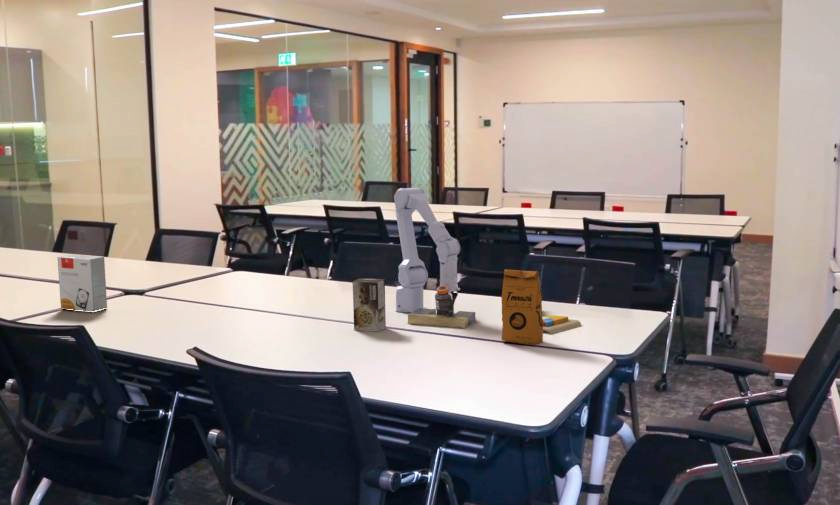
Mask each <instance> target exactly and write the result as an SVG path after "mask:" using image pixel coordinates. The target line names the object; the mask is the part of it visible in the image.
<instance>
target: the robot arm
mask: <svg viewBox="0 0 840 505" xmlns="http://www.w3.org/2000/svg"><path fill="white" fill-rule="evenodd" d="M393 199H394V205H395V216H396V221H397V222H396V223H397V229H398V233H399V235H398V236H399V241H400V248H401V253H402V261H401V263H400V264H399V265H398V275H397V276H398V277H397V278H398V282H399V284H400V285H398V286H397V288H396V292H395V312H398V313H399V312H401V313H412V312H414V311H416V310H418V309H420V308H423V309H428V307H424V286H426V283H427V282H428V279H429V273H428V270H427V269H426V266H425V262H424V261H423V260H421V259H420V258H419V254H418V248H417V241H416V236H415V235H416V234H415V229H414V228H415V227H414V222H413V216H412V215H413V214H414V212H415V211H417V212H418V213H419V215H420V217H421V218H422V219H423V221H424V222H425V223H426V225H427V226H428V229H427V231H428V232H427V233H428V234H429V236H430V237H431V238H432V240H433V243H435V245H436V248H435V251H436V254H437V257H438V261H439V278H440V279H439V282H440V283H439V286H448V287H449V292H451V293H452V297H453V305H454V306H455V303H456V299H457V298H458V294H459V293H458V292H457V291H460V290H461V288H460V287H459V285H458V277H457V275H458V268H457V267H458V263H457V262H458V260H457V259H458V255H459V254H460V252H461V244H460V242H459V240H458V239H456V238H454V237H453V236H451V235H450V233H449V231H448V230H447V229H446V227H445V226H446V225H445V224H444V223H443V222H442V221H438V220H437V218H436V216H435V214H434V212H433V210H432V208H431V207H430V204H429V203H428V194H427V193H425V189H423V188H422V187H419V186H417V187H407V188H405V187H404V188H403V187H400V188H398V189H397V190H396V192H395V193H394V195H393Z"/></svg>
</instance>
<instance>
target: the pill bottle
mask: <svg viewBox="0 0 840 505" xmlns="http://www.w3.org/2000/svg"><path fill="white" fill-rule="evenodd" d="M434 302H435V307H436V308H435V309H436V315H444V316H452V315H453V314H455V304H454V305H453V297H452V293H451V292H449V287H448V286H440V285H439V286H437V288H436V293H435V295H434Z"/></svg>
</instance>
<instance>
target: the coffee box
mask: <svg viewBox="0 0 840 505" xmlns="http://www.w3.org/2000/svg"><path fill="white" fill-rule="evenodd" d="M385 280H386V279H385V278H384V279H383V278H358V279H355V280H353V281H351V282H352V299H353V300H352V301H353V303H352V304H353V306H352V307H353V310H352V311H353V330H354V329H356V330H355V331H365V330H367V331H368V332H380V331H383V330H384V329H385V328H386V326H387V324H386V323H387V322H386V320H387V319H386V284H385Z"/></svg>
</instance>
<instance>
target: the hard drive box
mask: <svg viewBox="0 0 840 505" xmlns="http://www.w3.org/2000/svg"><path fill="white" fill-rule="evenodd" d="M57 267H58V284H59V286H58V287H59V300H60V309H61V308H66V309H73V310H83V311H95V310H99V309H103V308H107V309H108V301H107V300H108V298H107V283H106V281H107V280H106V266H105V257H104V256H101V255H100V256H97V255H87V254H85V255H83V254H68V255H67V254H66V255H61V256H57Z"/></svg>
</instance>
